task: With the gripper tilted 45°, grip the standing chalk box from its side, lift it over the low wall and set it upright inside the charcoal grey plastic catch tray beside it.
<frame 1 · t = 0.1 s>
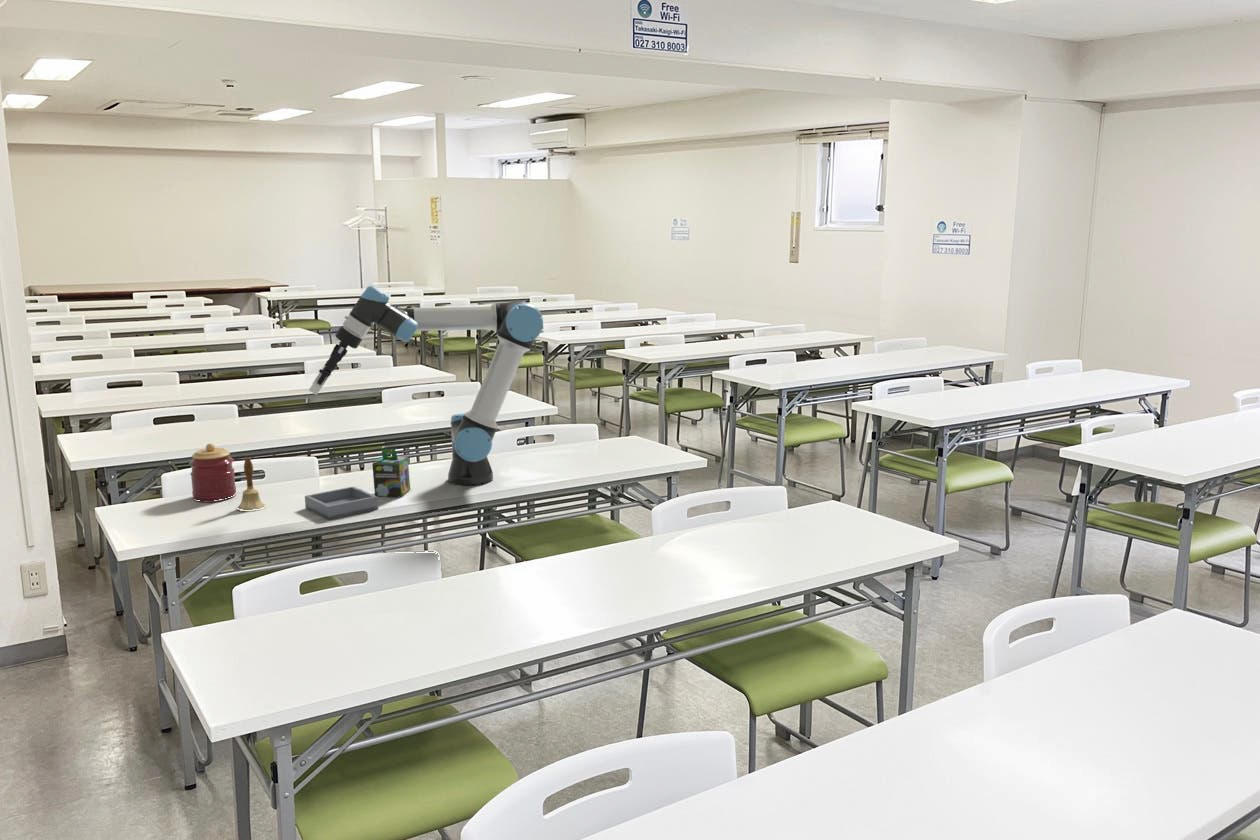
hand: (314, 389, 300), 36 cm above the table, tool tilted 35°, fingers open, 13 cm apart
catch tray: (341, 508, 297), on the table
canister: (214, 497, 310), on the table
chalk box: (392, 494, 314), on the table
hand bell: (251, 508, 299), on the table
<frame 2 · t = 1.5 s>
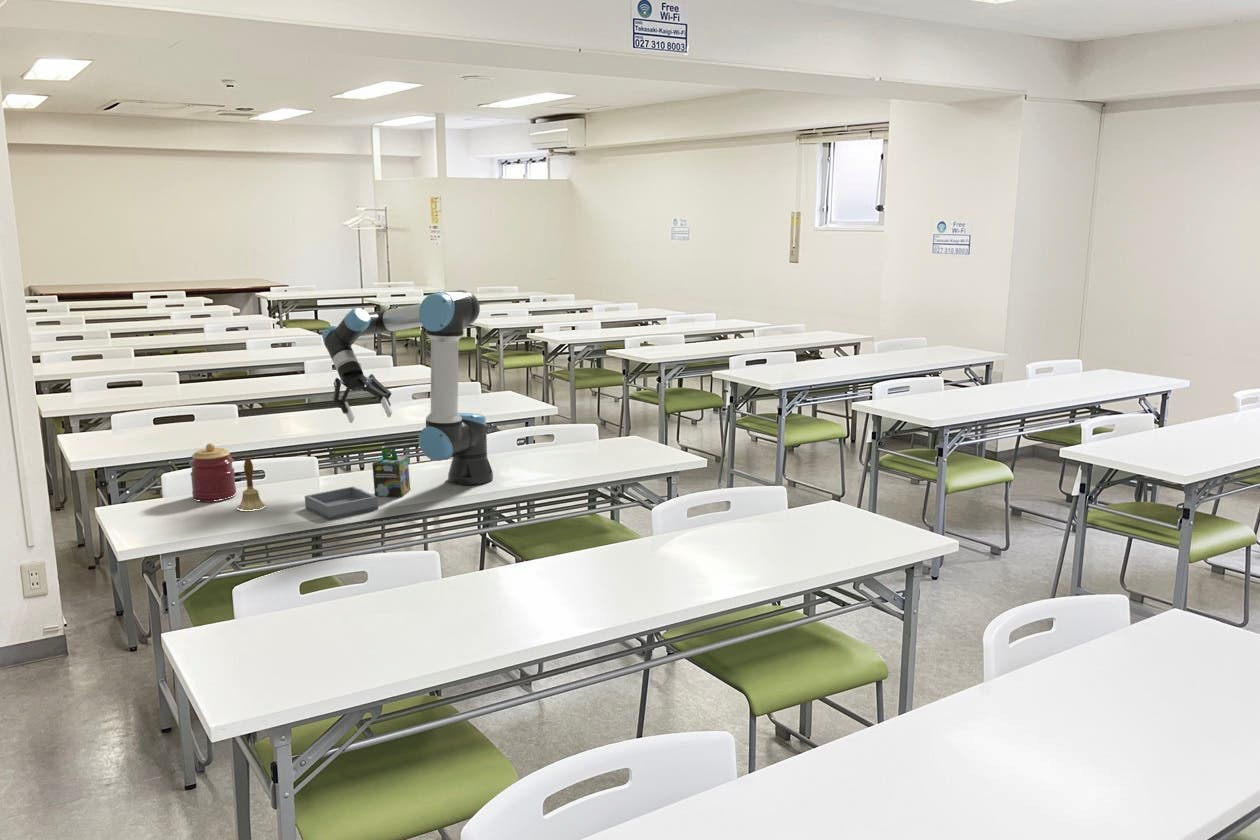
hand: (371, 417, 317), 23 cm above the table, tool tilted 45°, fingers open, 13 cm apart
nothing on the table moved.
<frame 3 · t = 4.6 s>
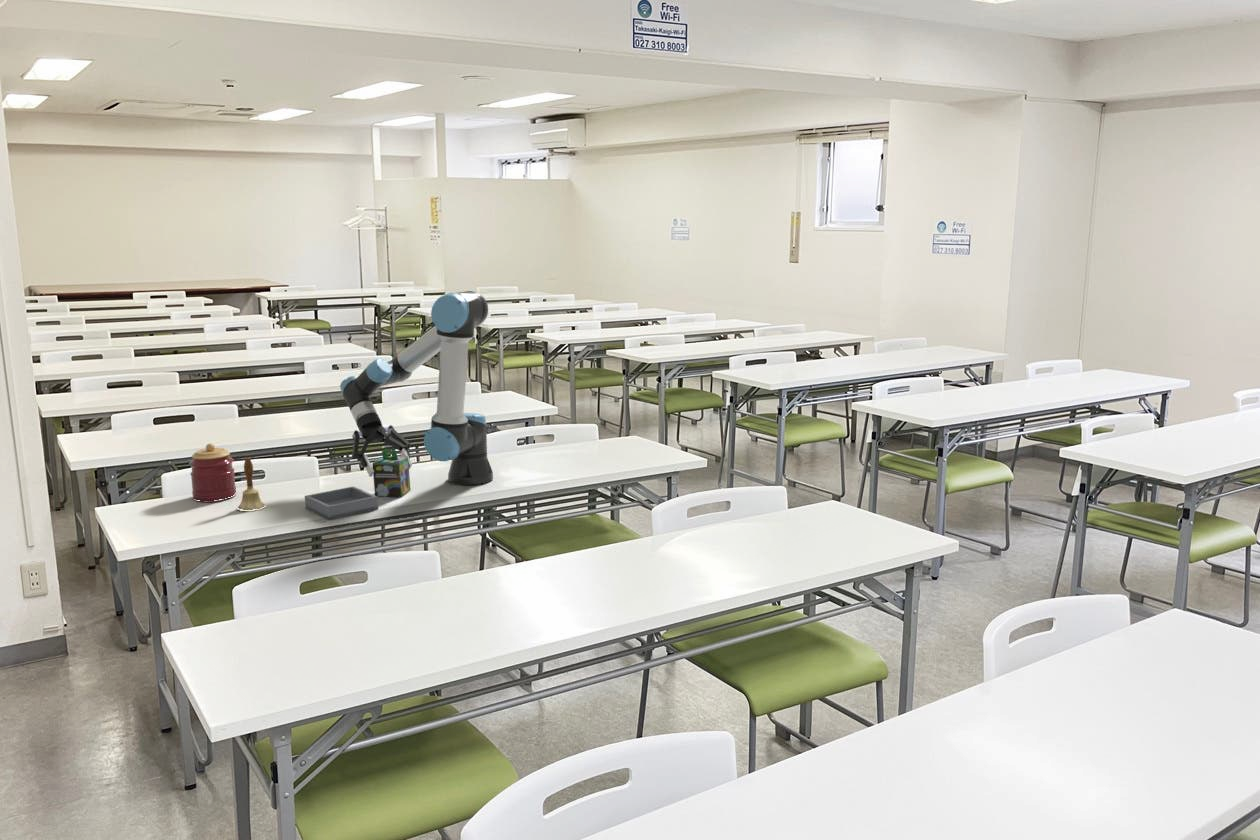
hand: (391, 470, 312), 8 cm above the table, tool tilted 45°, fingers open, 13 cm apart
nothing on the table moved.
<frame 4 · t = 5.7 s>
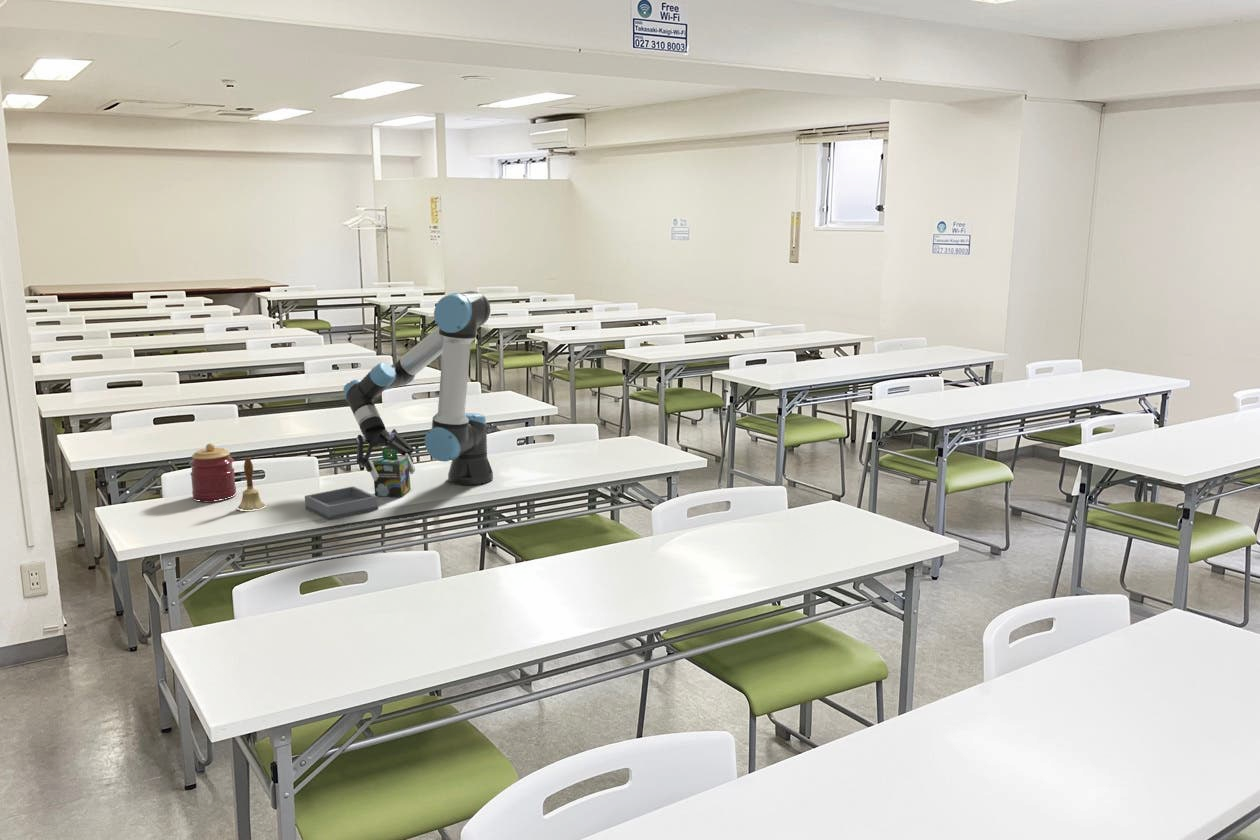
hand: (395, 475, 311), 7 cm above the table, tool tilted 45°, fingers closed on chalk box, 12 cm apart
chalk box: (392, 494, 314), on the table, touching gripper
everything else where it was.
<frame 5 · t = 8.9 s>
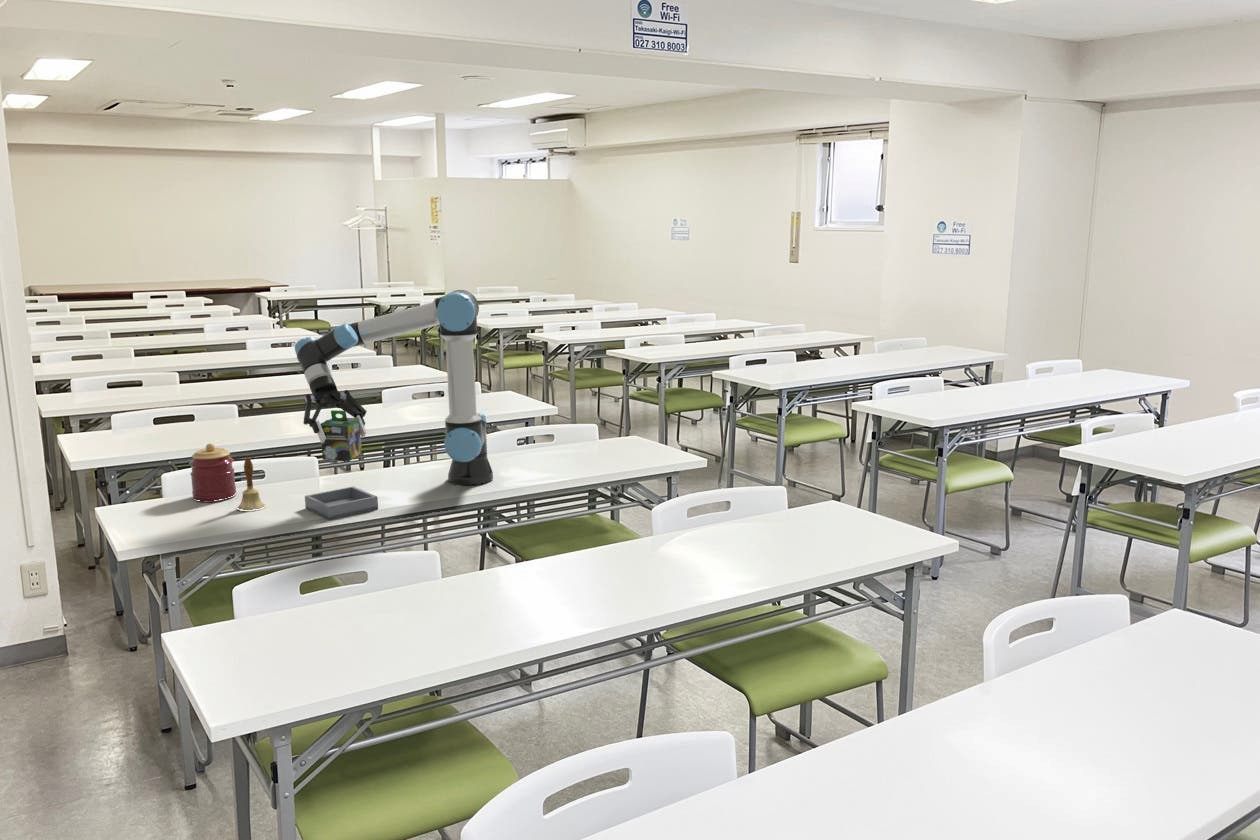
hand: (344, 437, 294), 22 cm above the table, tool tilted 45°, fingers closed on chalk box, 12 cm apart
chalk box: (342, 457, 297), point 15 cm above the table, touching gripper
everything else where it was.
when the fingers open (9 cm above the table, at t = 12.2 s): chalk box drops 1 cm, resting on catch tray.
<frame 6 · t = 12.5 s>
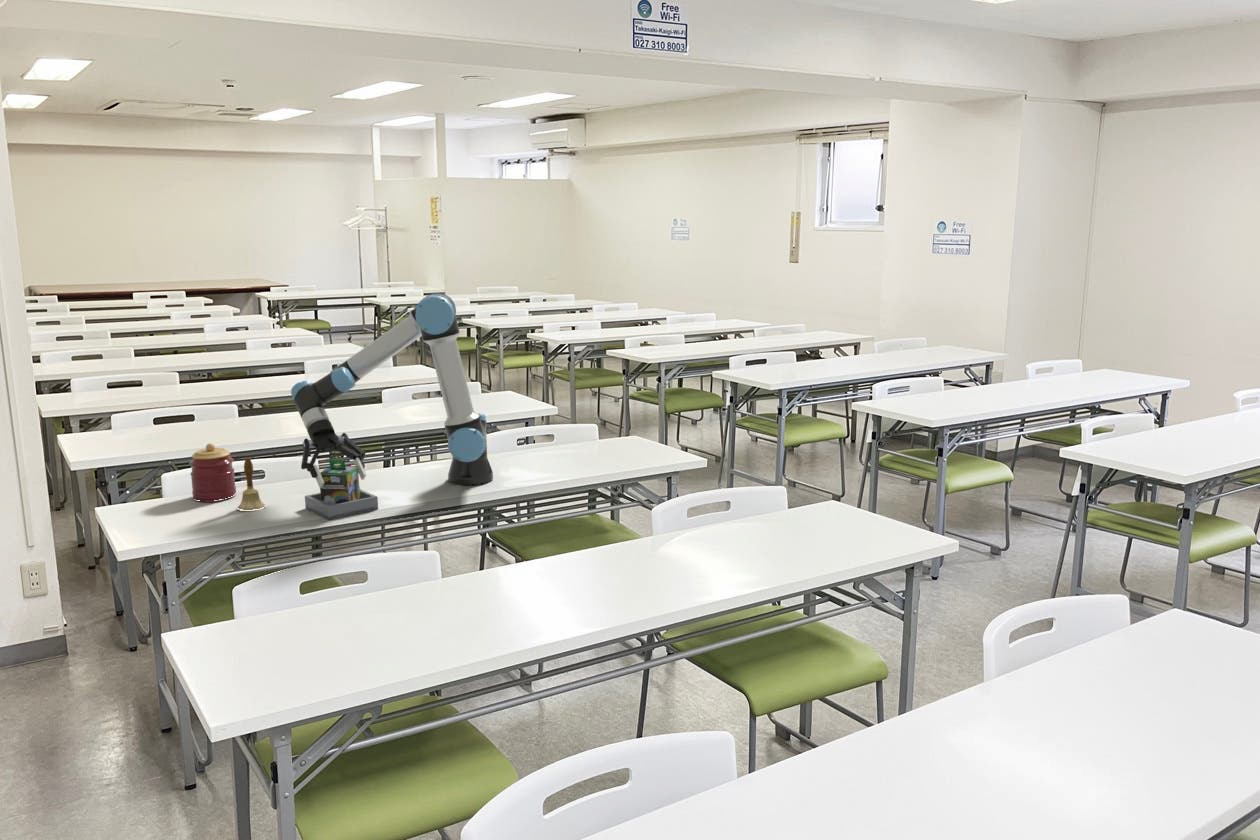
hand: (343, 481, 294), 9 cm above the table, tool tilted 45°, fingers open, 13 cm apart
chalk box: (341, 506, 297), point 1 cm above the table, touching catch tray
everything else where it was.
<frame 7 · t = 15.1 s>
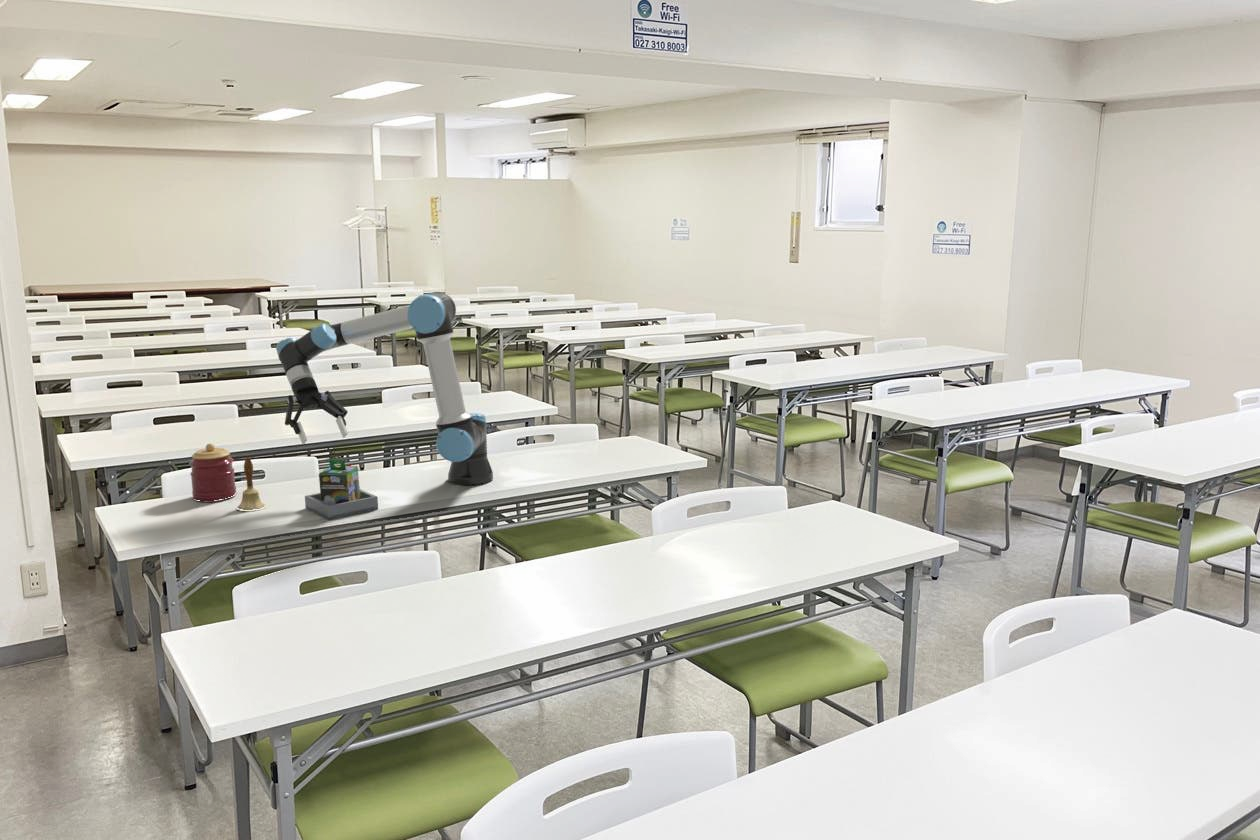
hand: (325, 438, 303), 20 cm above the table, tool tilted 40°, fingers open, 13 cm apart
nothing on the table moved.
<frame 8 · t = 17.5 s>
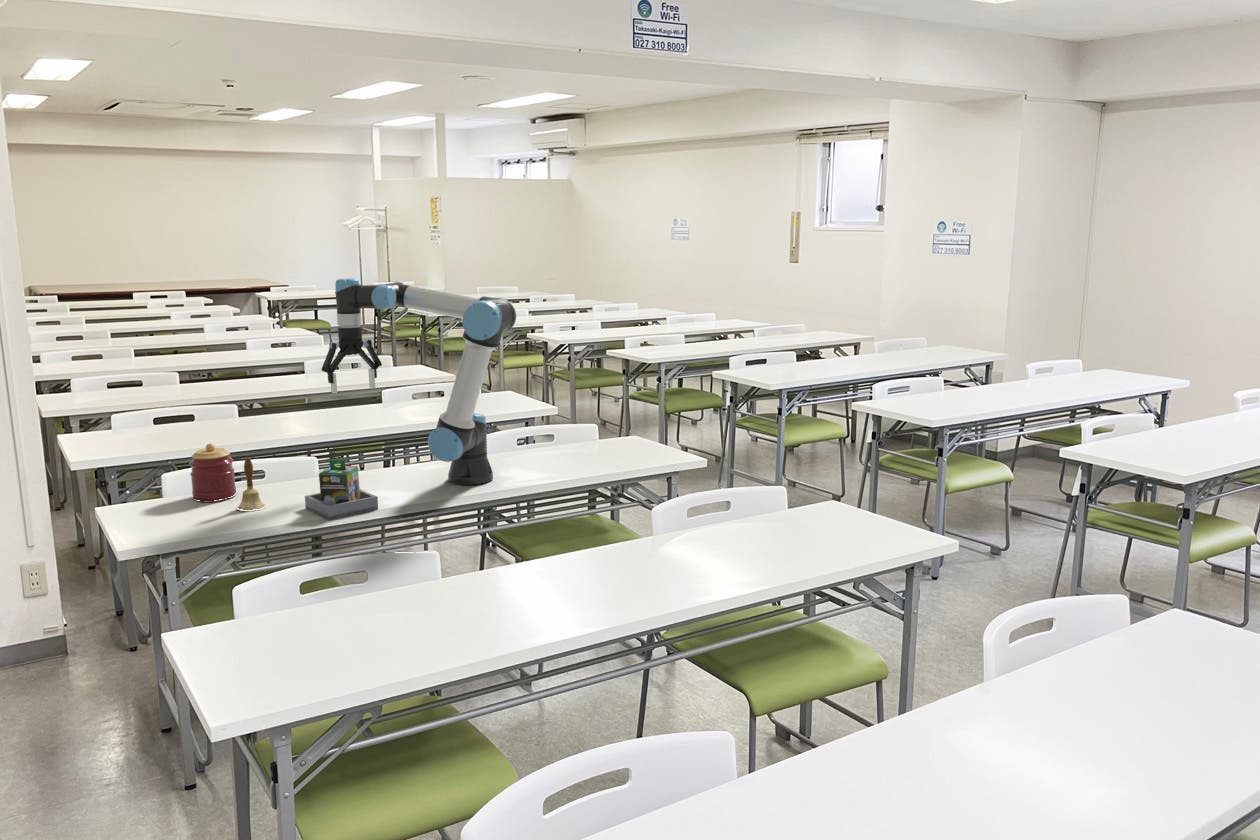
hand: (353, 390, 320), 32 cm above the table, tool pointing down, fingers open, 13 cm apart
nothing on the table moved.
at the end: chalk box inside the target area on the catch tray (0.1 cm from its centre), point 0.8 cm above the catch tray's base; chalk box tilted 0°; the gripper is holding nothing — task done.
